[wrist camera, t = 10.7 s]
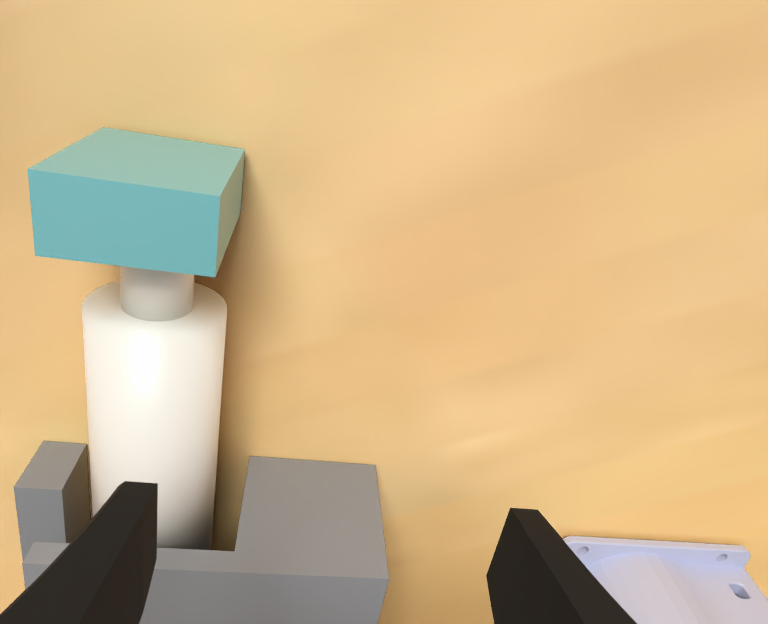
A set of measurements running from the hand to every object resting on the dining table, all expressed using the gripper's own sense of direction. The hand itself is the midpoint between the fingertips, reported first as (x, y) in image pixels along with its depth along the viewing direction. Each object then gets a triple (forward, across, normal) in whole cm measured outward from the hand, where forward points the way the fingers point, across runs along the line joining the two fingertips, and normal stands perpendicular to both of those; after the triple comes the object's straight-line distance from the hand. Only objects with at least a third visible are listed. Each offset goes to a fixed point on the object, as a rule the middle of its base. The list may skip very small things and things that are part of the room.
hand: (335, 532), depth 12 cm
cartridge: (+9, +5, +2) cm, 11 cm away
